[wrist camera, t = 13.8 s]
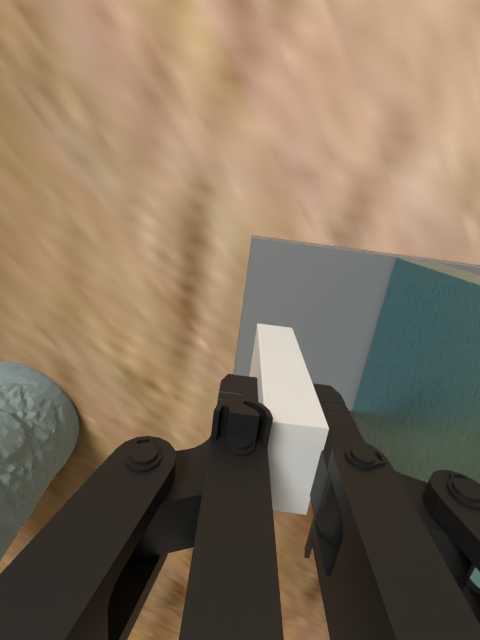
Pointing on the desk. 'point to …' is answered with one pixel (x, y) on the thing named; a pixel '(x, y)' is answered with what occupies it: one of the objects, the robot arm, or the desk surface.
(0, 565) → the desk surface
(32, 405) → the embossed green cup
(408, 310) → the teal brushed slab
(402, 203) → the desk surface
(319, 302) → the shelf board
